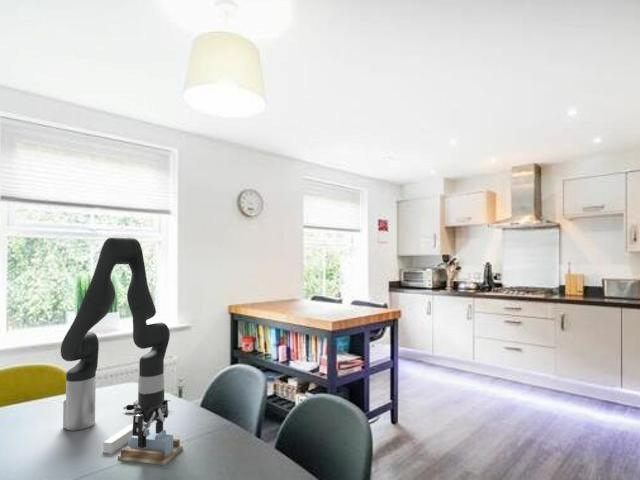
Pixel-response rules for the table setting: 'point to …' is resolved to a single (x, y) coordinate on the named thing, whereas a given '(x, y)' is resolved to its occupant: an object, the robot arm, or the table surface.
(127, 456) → the jig
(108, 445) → the white rectangular bar
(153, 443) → the light blue stepped block
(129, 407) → the robot toy
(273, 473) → the table surface
